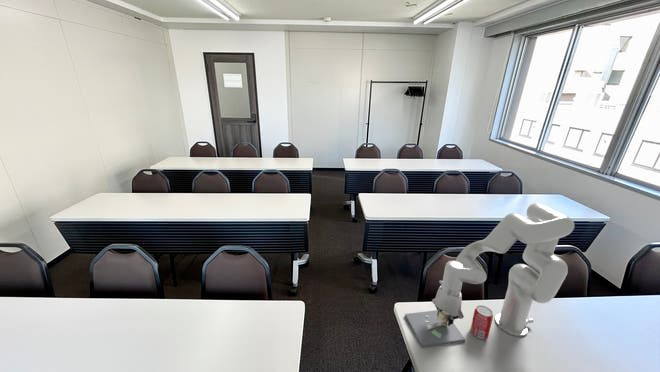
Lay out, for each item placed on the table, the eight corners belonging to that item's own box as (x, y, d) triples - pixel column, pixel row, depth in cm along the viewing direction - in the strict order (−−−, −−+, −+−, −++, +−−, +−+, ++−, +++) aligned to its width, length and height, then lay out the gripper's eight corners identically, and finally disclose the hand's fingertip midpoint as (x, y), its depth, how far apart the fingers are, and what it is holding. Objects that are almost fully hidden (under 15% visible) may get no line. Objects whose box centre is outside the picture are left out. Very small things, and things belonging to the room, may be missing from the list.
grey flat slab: (443, 311, 130) (443, 309, 129) (464, 341, 114) (465, 338, 113) (404, 316, 127) (405, 313, 126) (421, 347, 111) (422, 344, 110)
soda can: (490, 341, 114) (496, 318, 110) (472, 338, 115) (478, 315, 111) (484, 328, 121) (490, 306, 117) (467, 325, 122) (473, 303, 118)
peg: (446, 320, 123) (449, 308, 121) (451, 325, 120) (454, 313, 118) (425, 326, 119) (427, 314, 117) (429, 331, 116) (432, 319, 114)
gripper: (428, 282, 117) (423, 314, 123) (468, 303, 106) (460, 337, 112) (436, 275, 122) (431, 306, 128) (474, 294, 111) (467, 327, 117)
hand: (444, 320), depth 120 cm, fingers closed on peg, 4 cm apart
